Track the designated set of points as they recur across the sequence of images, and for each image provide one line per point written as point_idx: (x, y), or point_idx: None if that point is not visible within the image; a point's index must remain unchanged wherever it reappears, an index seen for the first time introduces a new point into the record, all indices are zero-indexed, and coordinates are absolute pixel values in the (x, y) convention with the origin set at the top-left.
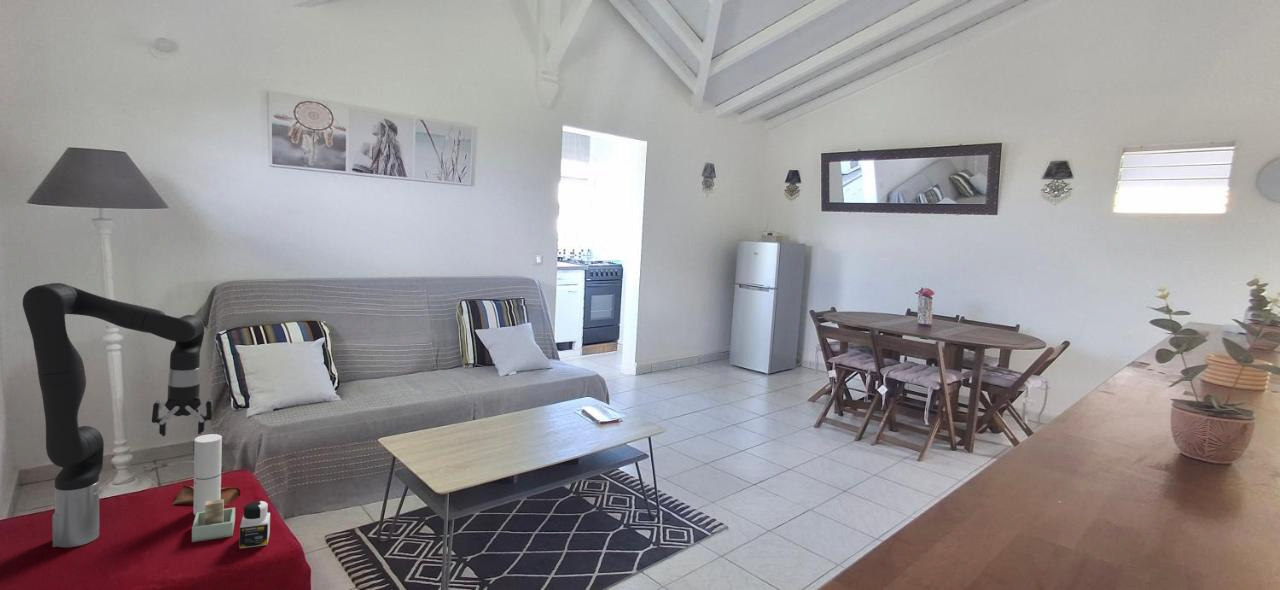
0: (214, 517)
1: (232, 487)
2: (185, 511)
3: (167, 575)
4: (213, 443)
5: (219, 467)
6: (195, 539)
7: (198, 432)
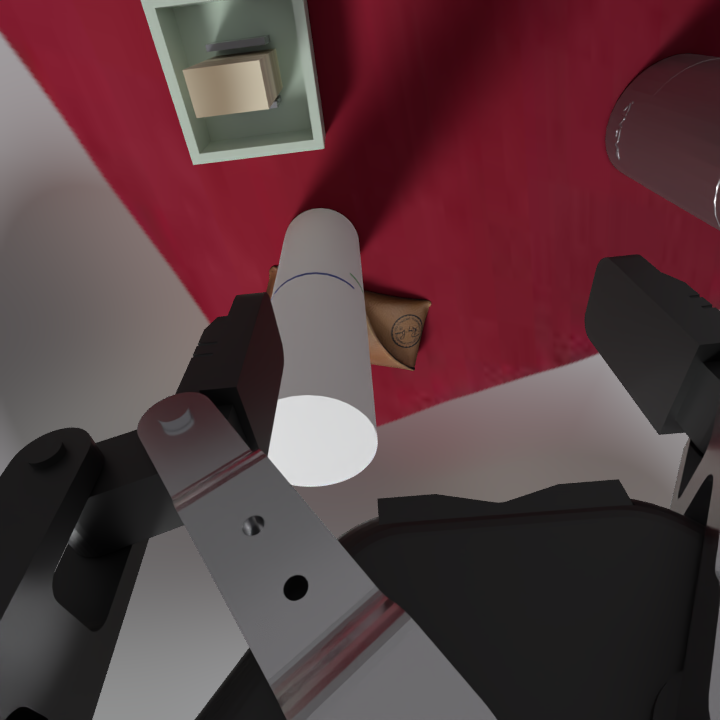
0: (232, 58)
1: None
2: (383, 254)
3: None
4: None
5: None
6: None
7: (256, 299)
